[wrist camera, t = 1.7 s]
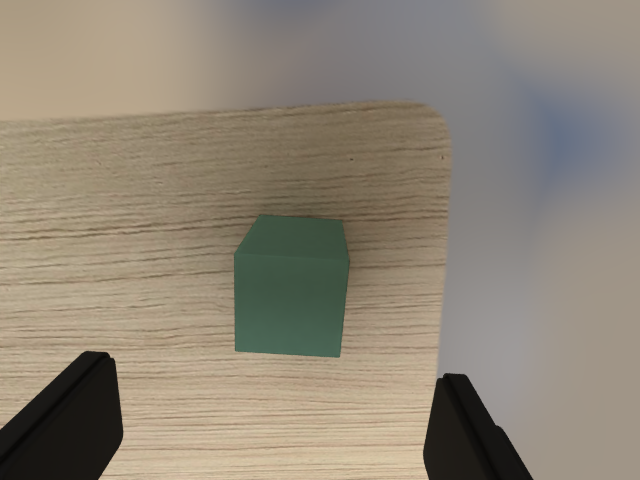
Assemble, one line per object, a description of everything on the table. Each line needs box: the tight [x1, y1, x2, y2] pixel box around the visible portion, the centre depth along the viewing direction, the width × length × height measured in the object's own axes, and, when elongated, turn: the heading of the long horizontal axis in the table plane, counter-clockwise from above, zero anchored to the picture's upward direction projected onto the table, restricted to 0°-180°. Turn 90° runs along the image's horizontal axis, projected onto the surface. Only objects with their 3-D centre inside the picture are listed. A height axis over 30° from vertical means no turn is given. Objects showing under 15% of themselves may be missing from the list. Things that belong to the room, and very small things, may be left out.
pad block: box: [234, 215, 350, 358], centre depth 18 cm, size 4×4×6 cm
